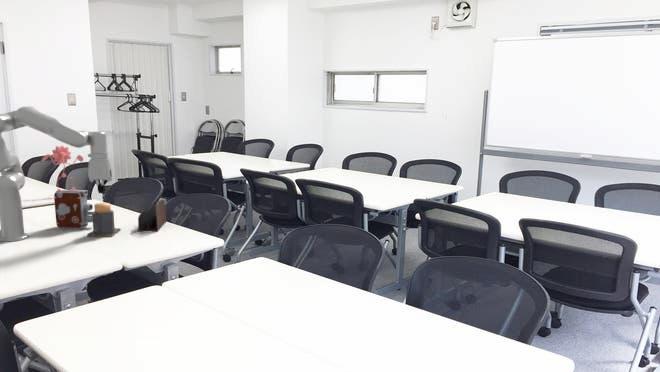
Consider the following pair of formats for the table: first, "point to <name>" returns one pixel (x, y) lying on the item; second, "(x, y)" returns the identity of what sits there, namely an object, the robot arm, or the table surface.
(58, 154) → the pink flower
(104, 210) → the cap
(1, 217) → the robot arm
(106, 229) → the top hat
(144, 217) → the letter holder
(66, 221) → the cine camera
